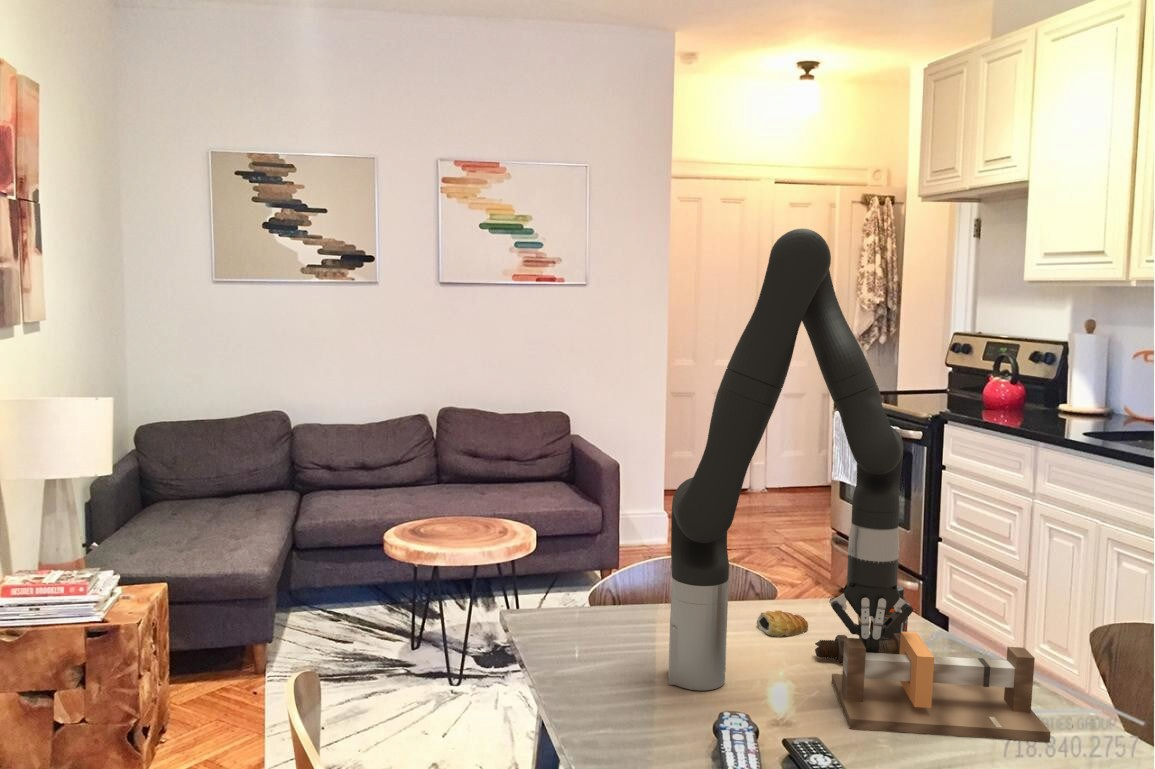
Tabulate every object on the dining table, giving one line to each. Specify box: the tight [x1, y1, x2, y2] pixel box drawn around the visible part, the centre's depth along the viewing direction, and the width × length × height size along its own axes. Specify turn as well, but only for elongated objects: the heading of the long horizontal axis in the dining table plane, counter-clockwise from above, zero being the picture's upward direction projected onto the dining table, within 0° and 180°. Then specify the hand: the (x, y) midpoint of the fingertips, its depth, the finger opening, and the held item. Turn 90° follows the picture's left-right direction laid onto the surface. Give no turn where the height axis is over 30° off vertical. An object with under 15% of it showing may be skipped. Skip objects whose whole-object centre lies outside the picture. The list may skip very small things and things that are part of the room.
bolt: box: [814, 633, 901, 664], centre depth 158 cm, size 6×5×15 cm
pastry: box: [756, 610, 809, 638], centre depth 173 cm, size 9×7×4 cm
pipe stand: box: [830, 637, 1051, 743], centre depth 140 cm, size 28×16×10 cm, turn 84°
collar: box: [900, 631, 934, 708], centre depth 140 cm, size 2×10×8 cm, turn 174°
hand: (867, 659), depth 144 cm, fingers closed
